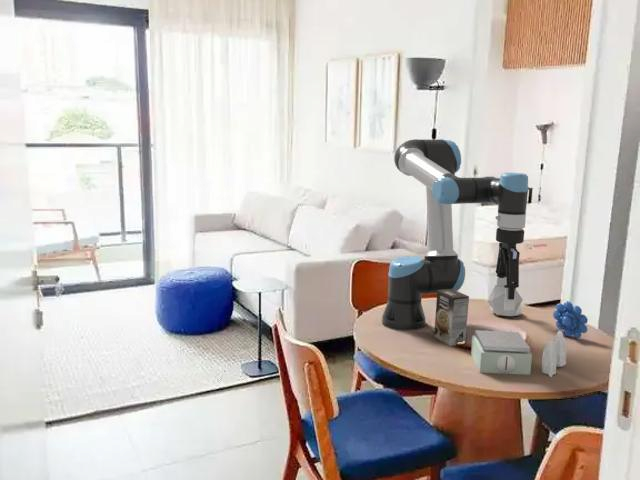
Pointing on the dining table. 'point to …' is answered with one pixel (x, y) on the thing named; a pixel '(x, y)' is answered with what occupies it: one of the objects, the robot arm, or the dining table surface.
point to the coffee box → (451, 316)
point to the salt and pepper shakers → (554, 355)
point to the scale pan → (501, 341)
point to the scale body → (500, 360)
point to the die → (502, 301)
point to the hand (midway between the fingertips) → (504, 304)
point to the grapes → (570, 319)
